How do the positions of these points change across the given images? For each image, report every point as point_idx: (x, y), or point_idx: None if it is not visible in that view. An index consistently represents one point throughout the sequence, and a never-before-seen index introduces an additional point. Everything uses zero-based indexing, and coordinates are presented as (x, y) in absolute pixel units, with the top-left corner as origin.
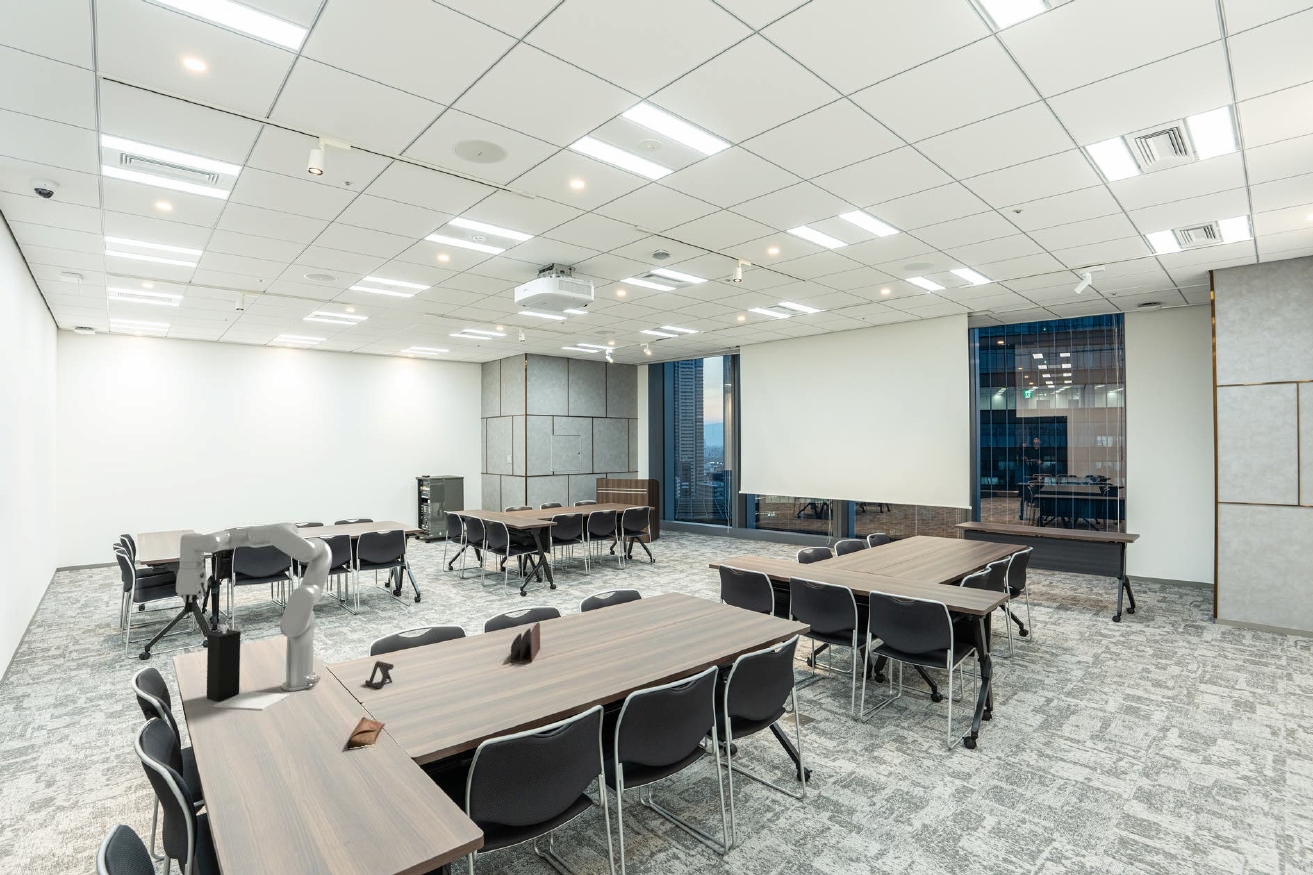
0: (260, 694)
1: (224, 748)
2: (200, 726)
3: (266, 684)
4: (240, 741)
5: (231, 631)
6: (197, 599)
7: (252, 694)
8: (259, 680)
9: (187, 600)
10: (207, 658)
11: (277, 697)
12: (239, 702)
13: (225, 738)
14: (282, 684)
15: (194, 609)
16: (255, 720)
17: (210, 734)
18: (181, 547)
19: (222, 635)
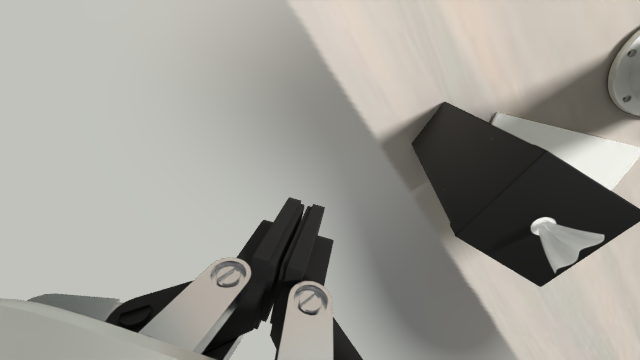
0: (551, 141)
1: (542, 349)
2: (466, 274)
3: (546, 46)
4: (563, 336)
5: (581, 202)
6: (332, 307)
7: (528, 138)
8: (512, 3)
9: (245, 330)
10: (432, 184)
11: (607, 167)
12: None
13: (532, 322)
14: (616, 79)
15: (331, 241)
16: (571, 271)
17: (499, 304)
18: None
19: (547, 266)
